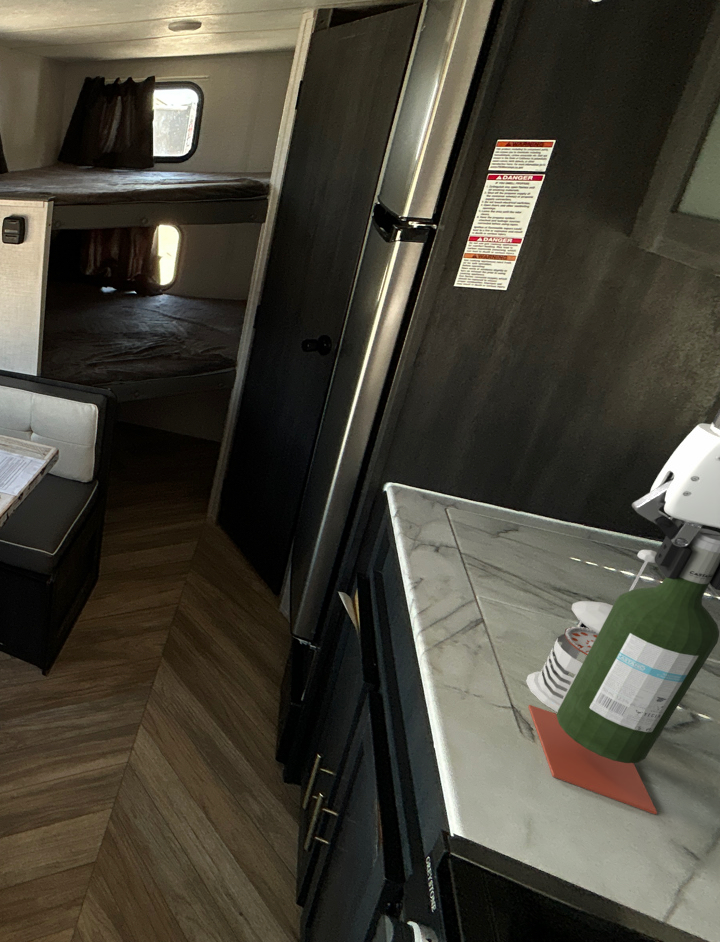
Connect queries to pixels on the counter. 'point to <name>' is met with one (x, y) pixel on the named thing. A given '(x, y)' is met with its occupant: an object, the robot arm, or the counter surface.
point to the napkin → (588, 765)
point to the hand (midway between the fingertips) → (689, 576)
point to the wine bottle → (644, 661)
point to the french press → (573, 648)
